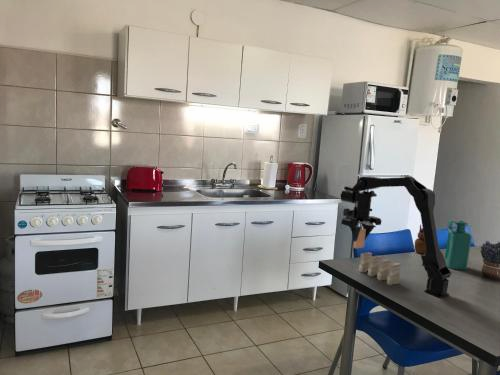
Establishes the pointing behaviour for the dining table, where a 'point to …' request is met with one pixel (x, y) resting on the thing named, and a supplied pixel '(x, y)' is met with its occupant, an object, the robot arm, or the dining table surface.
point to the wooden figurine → (420, 242)
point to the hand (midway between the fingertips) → (359, 240)
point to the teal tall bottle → (457, 246)
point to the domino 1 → (360, 239)
